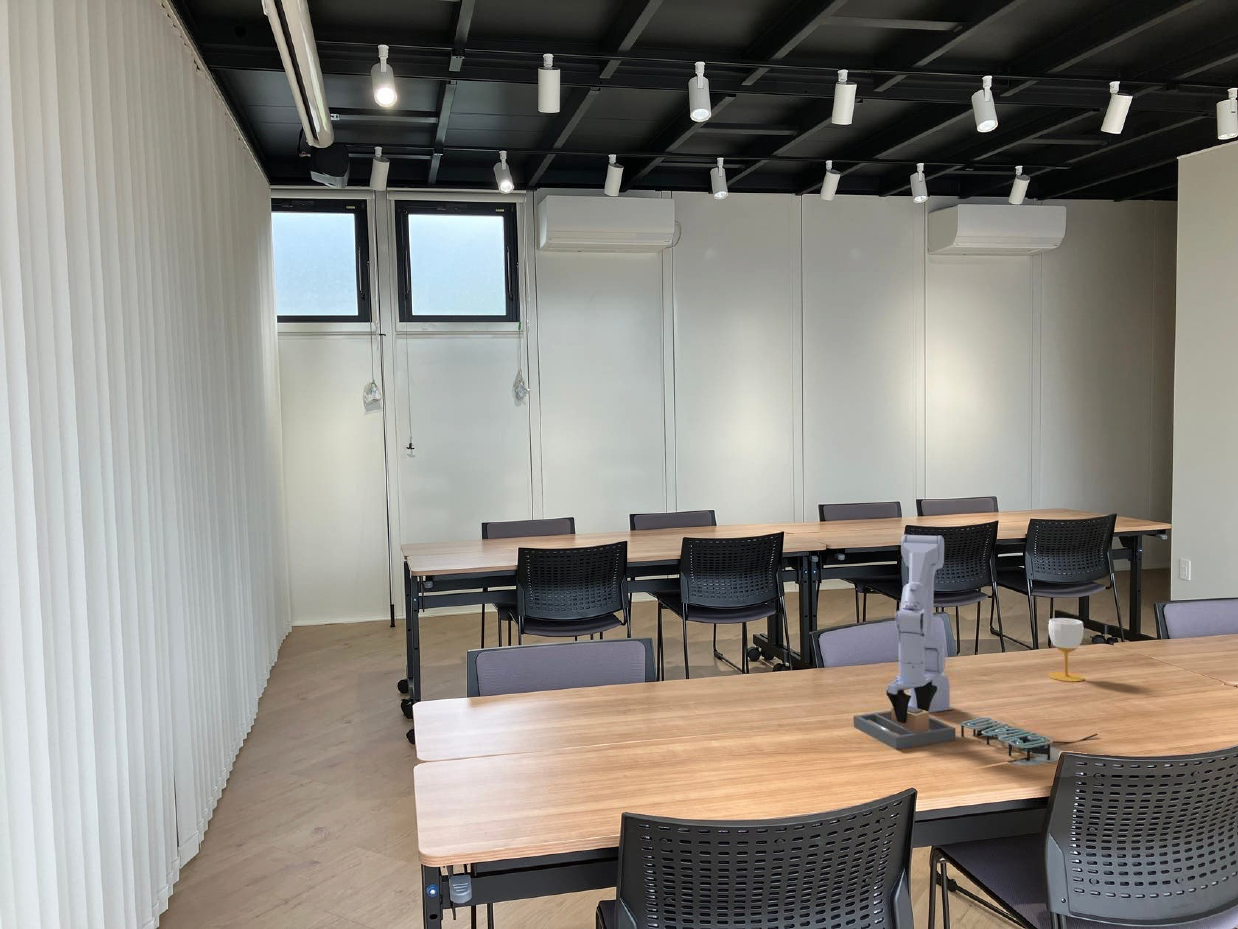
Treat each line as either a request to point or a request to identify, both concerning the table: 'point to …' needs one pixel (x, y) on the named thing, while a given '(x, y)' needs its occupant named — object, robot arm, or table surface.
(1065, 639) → the cup
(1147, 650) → the table surface
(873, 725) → the grey divided tray
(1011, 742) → the neon sign
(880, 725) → the rod
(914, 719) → the block
